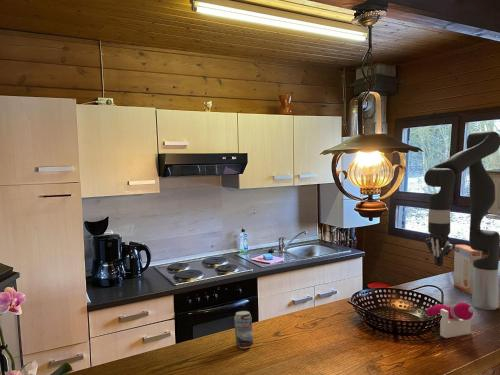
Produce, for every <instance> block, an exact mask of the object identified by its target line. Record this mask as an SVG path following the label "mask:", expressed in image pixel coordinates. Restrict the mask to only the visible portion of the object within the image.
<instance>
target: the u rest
mask: <svg viewBox="0 0 500 375" xmlns="http://www.w3.org/2000/svg"><path fill="white" fill-rule="evenodd" d="M448 314H449V311H447V310H445V309H441V310H440V315H441V316H442V318H441V320H440V323H439V325H440V326H439V334H440V336H441V337H442V338H445V339H448V338H454V337H460V336H465V335H470V334H472V318H470V319H468V320H462V319H456V318H452V319H448Z"/></svg>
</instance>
